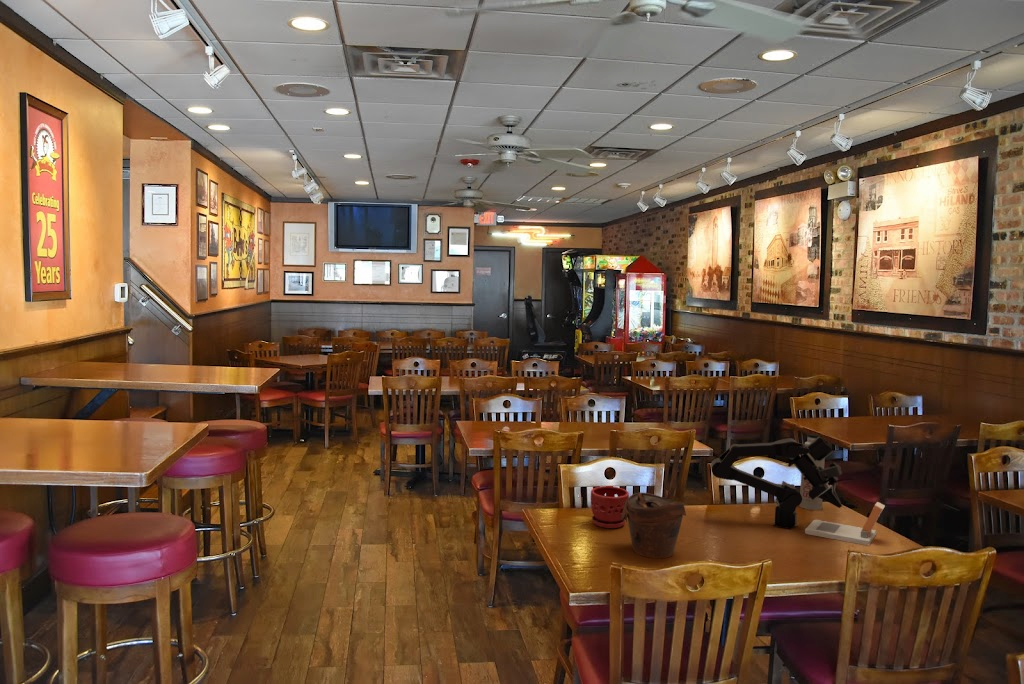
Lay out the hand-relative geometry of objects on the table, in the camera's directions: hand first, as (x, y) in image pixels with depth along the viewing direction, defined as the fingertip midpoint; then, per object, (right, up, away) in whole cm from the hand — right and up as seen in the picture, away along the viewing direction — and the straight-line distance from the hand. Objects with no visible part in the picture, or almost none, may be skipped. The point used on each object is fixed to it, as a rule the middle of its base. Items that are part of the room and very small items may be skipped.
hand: (840, 507), depth 266 cm
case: (-68, -10, -20) cm, 71 cm away
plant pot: (-78, -8, +6) cm, 79 cm away
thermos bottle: (+2, -7, +33) cm, 34 cm away
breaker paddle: (+7, -7, -4) cm, 11 cm away
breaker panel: (0, -9, +1) cm, 9 cm away
